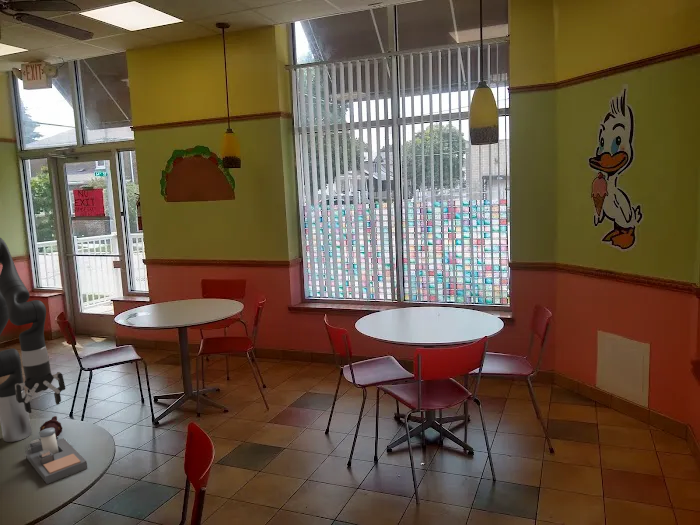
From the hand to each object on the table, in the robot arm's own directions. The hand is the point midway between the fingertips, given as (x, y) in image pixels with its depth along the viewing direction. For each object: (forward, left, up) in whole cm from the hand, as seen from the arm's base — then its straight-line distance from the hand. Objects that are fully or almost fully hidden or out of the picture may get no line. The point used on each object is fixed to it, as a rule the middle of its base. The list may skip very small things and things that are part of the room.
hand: (43, 408), depth 183 cm
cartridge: (0, 0, -18) cm, 18 cm away
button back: (-6, -3, -15) cm, 17 cm away
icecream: (-18, +5, -18) cm, 26 cm away
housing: (+4, 0, -18) cm, 19 cm away
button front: (+6, -3, -15) cm, 17 cm away
